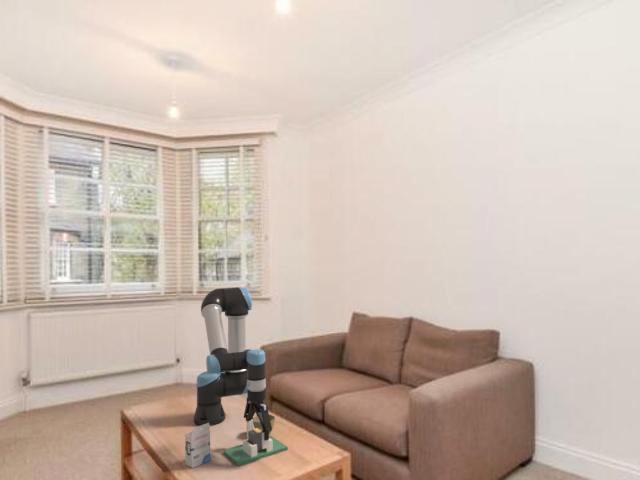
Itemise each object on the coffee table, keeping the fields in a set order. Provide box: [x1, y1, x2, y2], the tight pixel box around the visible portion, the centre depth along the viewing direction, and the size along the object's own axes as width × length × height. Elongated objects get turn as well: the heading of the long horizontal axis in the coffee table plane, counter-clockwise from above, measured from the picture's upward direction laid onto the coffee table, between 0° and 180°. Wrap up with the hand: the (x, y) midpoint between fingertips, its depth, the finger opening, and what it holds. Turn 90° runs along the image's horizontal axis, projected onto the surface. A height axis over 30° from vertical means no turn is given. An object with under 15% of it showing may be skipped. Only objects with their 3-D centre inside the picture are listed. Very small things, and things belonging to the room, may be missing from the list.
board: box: [223, 435, 289, 467], centre depth 176 cm, size 14×22×5 cm, turn 126°
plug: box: [247, 428, 266, 453], centre depth 174 cm, size 4×6×8 cm, turn 127°
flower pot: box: [252, 414, 276, 435], centre depth 193 cm, size 10×10×7 cm
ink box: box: [184, 423, 211, 469], centre depth 168 cm, size 8×5×15 cm, turn 140°
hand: (257, 442), depth 174 cm, fingers open, 13 cm apart
